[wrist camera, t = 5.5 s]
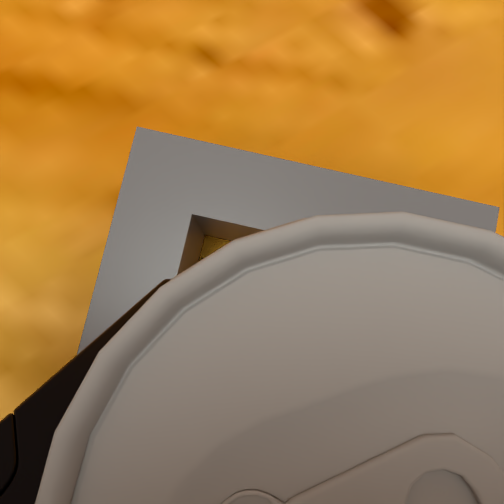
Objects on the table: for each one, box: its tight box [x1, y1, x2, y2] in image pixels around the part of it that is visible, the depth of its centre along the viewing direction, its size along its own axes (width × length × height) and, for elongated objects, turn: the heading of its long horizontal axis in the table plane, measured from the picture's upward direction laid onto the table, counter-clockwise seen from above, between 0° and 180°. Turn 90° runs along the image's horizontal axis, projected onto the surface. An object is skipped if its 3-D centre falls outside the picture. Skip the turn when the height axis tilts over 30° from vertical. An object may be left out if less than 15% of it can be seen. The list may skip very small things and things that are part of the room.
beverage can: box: [35, 212, 504, 504], centre depth 9 cm, size 5×5×12 cm
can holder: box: [77, 127, 499, 355], centre depth 15 cm, size 12×12×4 cm
